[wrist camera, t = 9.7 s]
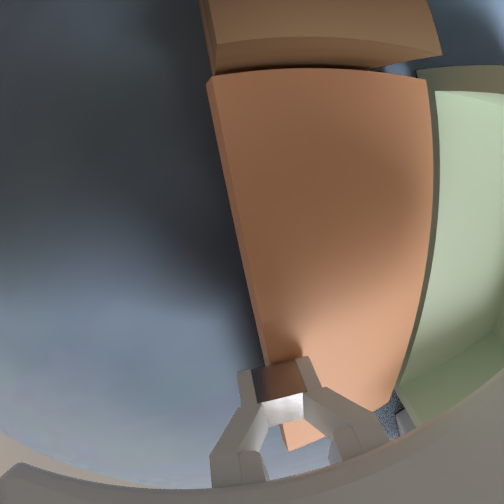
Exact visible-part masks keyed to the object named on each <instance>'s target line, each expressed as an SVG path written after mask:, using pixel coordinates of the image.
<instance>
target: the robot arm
mask: <svg viewBox="0 0 504 504" xmlns="http://www.w3.org/2000/svg"><path fill="white" fill-rule="evenodd" d="M237 379H238V386H239V393H240V399H241V405H242V407H239V408H237V410H236V412H235V414H234V415H233V417H232V419H231V421H230V422H229V424H228V426H227V427H226V429H225V431H224V432H223V434H222V436H221V437H220V439H219V441H218V442H217V444H216V446H215V447H214V449H213V451H212V452H211V454H210V455H209V456H210V469H211V481H212V488H206V489H147V488H135V487H125V486H117V485H109V484H103V483H97V482H92V481H86V480H82V479H77V478H73V477H68V476H64V475H60V474H57V473H53V472H50V471H46V470H43V469H40V468H37V467H34V466H31V465H29V464H26V463H17V464H16V465H14V466H13V467H11V468H10V469H9V470H8V471H7V472H6V473H5V474H3V475H2V476H1V477H0V504H504V367H503V368H502V369H501V370H500V371H499V372H498V373H497V374H495V375H494V376H493V377H492V378H491V379H489V380H488V381H487V382H486V383H484V384H483V385H482V386H481V387H479V388H478V389H477V390H475V391H474V392H473V393H471V394H470V395H469V396H467V397H466V398H464V399H463V400H461V401H460V402H459V403H457V404H456V405H454V406H453V407H451V408H450V409H448V410H447V411H445V412H443V413H442V414H440V415H439V416H437V417H435V418H434V419H432V420H430V421H429V422H427V423H425V424H423V425H421V426H420V427H418V428H416V429H414V430H412V431H410V432H409V433H407V434H405V435H403V436H401V437H399V438H397V439H395V440H392V441H390V440H389V438H388V436H387V434H386V433H385V431H384V429H383V427H382V425H381V423H380V421H379V419H378V417H377V415H376V414H375V413H373V412H371V411H369V410H367V409H365V408H364V407H362V406H360V405H358V404H356V403H354V402H353V401H351V400H349V399H347V398H345V397H344V396H342V395H340V394H338V393H337V392H335V391H333V390H331V389H330V388H328V387H323V388H322V385H321V383H320V381H319V378H318V376H317V374H316V371H315V369H314V367H313V365H312V362H311V360H310V358H309V357H308V356H304V357H301V358H297V359H295V360H294V359H292V360H288V361H285V362H281V363H277V364H273V365H268V366H265V367H259V368H254V369H249V370H244V371H238V372H237ZM303 418H304V419H305V420H306V421H307V422H308V423H310V424H311V425H312V426H314V427H315V428H316V429H317V430H319V431H320V432H321V433H323V434H324V435H325V436H327V437H328V438H329V439H331V440H332V441H331V446H330V451H329V455H328V459H329V462H330V465H329V466H326V467H323V468H319V469H316V470H312V471H309V472H305V473H301V474H297V475H293V476H289V477H285V478H280V479H275V480H270V479H269V474H268V472H267V469H266V467H265V465H264V462H263V460H262V457H261V455H260V453H259V451H260V448H261V446H262V443H263V441H264V439H265V436H266V434H267V431H268V429H269V427H270V426H274V425H278V424H282V423H286V422H291V421H295V420H299V419H303Z"/></svg>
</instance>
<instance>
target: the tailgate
mask: <svg viewBox="0 0 504 504" xmlns="http://www.w3.org/2000/svg"><path fill="white" fill-rule="evenodd" d="M206 88H207V94H208V99H209V104H210V109H211V114H212V119H213V124H214V129H215V134H216V139H217V144H218V149H219V154H220V159H221V163H222V168H223V173H224V178H225V183H226V188H227V192H228V197H229V202H230V207H231V211H232V216H233V221H234V226H235V230H236V235H237V240H238V244H239V249H240V254H241V258H242V263H243V267H244V272H245V277H246V281H247V286H248V290H249V295H250V299H251V304H252V308H253V313H254V317H255V322H256V326H257V331H258V335H259V339H260V344H261V348H262V353H263V357H264V361H265V366H268V365H273V364H277V363H281V362H285V361H288V360H292V359H294V360H295V359H297V358H301V357H304V356H308V357H309V358H310V360H311V362H312V365H313V367H314V369H315V371H316V374H317V376H318V378H319V381H320V383H321V385H322V388H323V387H328V388H330V389H331V390H333V391H335V392H337V393H338V394H340V395H342V396H344V397H345V398H347V399H349V400H351V401H353V402H354V403H356V404H358V405H360V406H362V407H364V408H365V409H367V410H369V411H371V412H373V411H375V410H376V409H378V408H380V407H381V406H383V405H385V404H386V403H388V402H389V400H390V397H391V394H392V392H393V389H394V386H395V384H396V381H397V378H398V375H399V372H400V370H401V367H402V364H403V360H404V357H405V354H406V351H407V347H408V344H409V340H410V337H411V333H412V330H413V326H414V322H415V318H416V313H417V309H418V305H419V300H420V295H421V290H422V285H423V280H424V274H425V268H426V261H427V254H428V247H429V238H430V228H431V217H432V200H433V142H432V126H431V115H430V105H429V97H428V90H427V83H426V80H424V79H419V78H414V77H409V76H403V75H396V74H389V73H382V72H373V71H363V70H350V69H330V68H292V69H271V70H258V71H248V72H239V73H231V74H224V75H217V76H211V78H210V79H209V81H208V82H207V83H206ZM279 425H280V429H281V434H282V438H283V441H284V443H285V445H286V447H287V449H288V451H292V450H294V449H297V448H299V447H302V446H304V445H307V444H309V443H311V442H314V441H316V440H318V439H320V438H323V437H325V435H324V434H323V433H321V432H320V431H319V430H317V429H316V428H315V427H314V426H312V425H311V424H310V423H308V422H307V421H306V420H305V419H304V418H303V419H299V420H295V421H291V422H286V423H282V424H279Z"/></svg>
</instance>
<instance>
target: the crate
mask: <svg viewBox="0 0 504 504" xmlns="http://www.w3.org/2000/svg"><path fill="white" fill-rule="evenodd" d="M416 72H417V78H419V79H424V80H426V83H427V90H428V97H429V105H430V115H431V126H432V142H433V200H432V217H431V228H430V238H429V247H428V254H427V261H426V268H425V274H424V280H423V285H422V290H421V295H420V300H419V305H418V309H417V313H416V318H415V322H414V326H413V330H412V333H411V337H410V340H409V344H408V347H407V351H406V354H405V357H404V360H403V364H402V367H401V370H400V372H399V375H398V378H397V381H396V384H395V386H394V390H395V392H396V394H397V395H398V397H399V399H400V400H401V402H402V404H403V405H404V407H405V409H406V411H407V412H408V414H409V416H410V418H411V419H412V421H413V423H414V425H415V426H416V428H418V427H420V426H421V425H423V424H425V423H427V422H429V421H430V420H432V419H434V418H435V417H437V416H439V415H440V414H442V413H443V412H445V411H447V410H448V409H450V408H451V407H453V406H454V405H456V404H457V403H459V402H460V401H461V400H463V399H464V398H466V397H467V396H469V395H470V394H471V393H473V392H474V391H475V390H477V389H478V388H479V387H481V386H482V385H483V384H484V383H486V382H487V381H488V380H489V379H491V378H492V377H493V376H494V375H495V374H497V373H498V372H499V371H500V370H501V369H502V368H503V367H504V65H468V66H451V67H439V68H430V69H422V70H416Z"/></svg>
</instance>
